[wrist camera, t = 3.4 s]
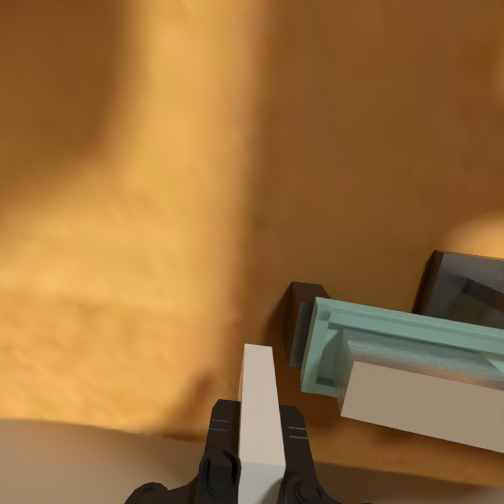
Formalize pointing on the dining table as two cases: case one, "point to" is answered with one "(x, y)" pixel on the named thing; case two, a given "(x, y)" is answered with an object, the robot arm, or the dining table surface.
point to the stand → (432, 300)
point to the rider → (420, 388)
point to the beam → (387, 323)
